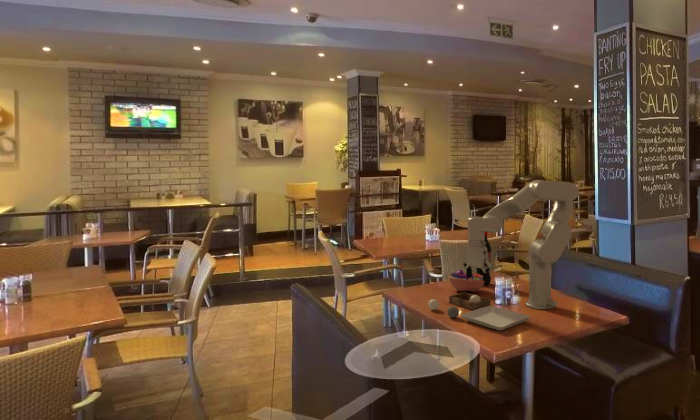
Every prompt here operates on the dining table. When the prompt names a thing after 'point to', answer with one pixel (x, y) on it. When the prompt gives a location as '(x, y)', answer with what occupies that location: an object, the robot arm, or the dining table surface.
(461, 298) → the tray
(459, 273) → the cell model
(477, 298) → the cream ball
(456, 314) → the grey ball
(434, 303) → the cream ball
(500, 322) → the salad plate
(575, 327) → the dining table surface
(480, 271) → the cola bottle
